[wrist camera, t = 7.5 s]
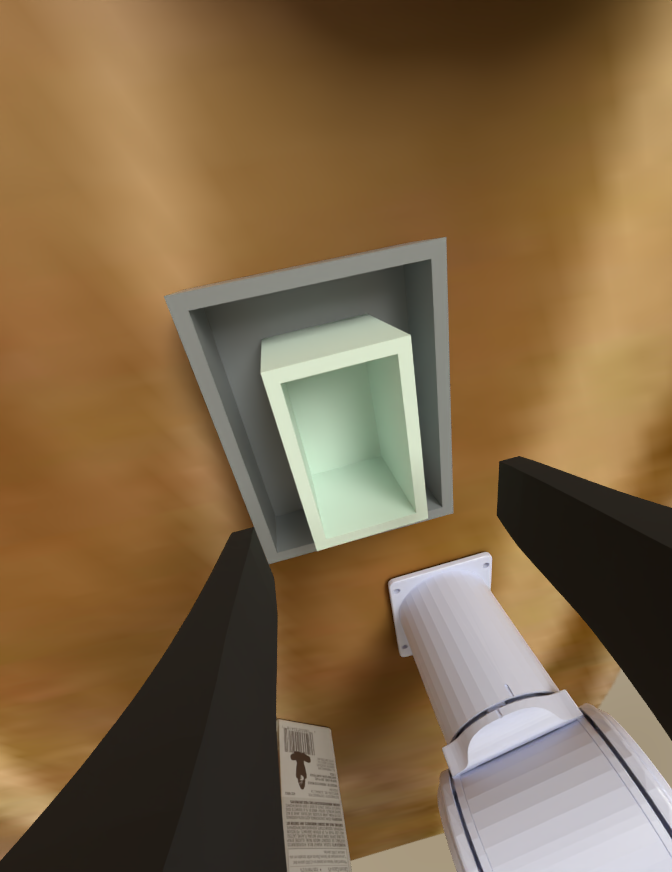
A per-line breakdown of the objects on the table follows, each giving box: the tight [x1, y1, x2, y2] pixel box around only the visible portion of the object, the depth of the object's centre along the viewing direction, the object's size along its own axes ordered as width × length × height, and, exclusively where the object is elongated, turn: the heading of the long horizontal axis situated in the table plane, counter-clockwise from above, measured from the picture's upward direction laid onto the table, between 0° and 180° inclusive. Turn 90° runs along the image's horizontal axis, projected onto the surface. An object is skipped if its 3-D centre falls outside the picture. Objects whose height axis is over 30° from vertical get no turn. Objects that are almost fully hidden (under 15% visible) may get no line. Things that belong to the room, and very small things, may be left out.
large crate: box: [164, 237, 453, 564], centre depth 17 cm, size 13×10×4 cm
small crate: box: [260, 314, 428, 551], centre depth 15 cm, size 8×5×6 cm, turn 12°
